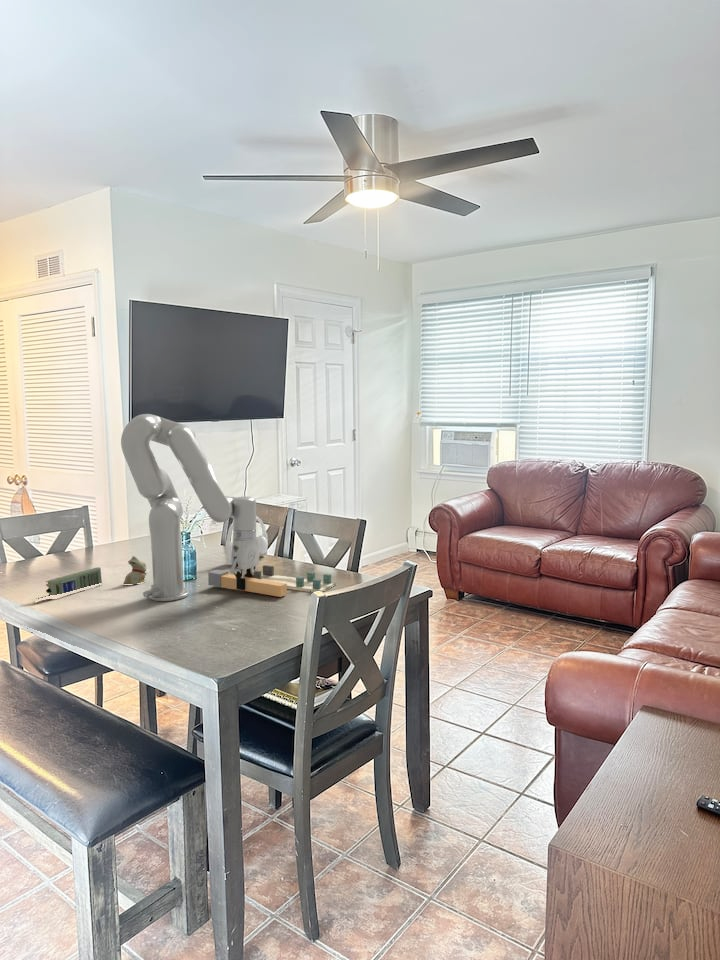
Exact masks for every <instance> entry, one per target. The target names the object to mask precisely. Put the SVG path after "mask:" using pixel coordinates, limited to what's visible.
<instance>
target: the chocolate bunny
mask: <svg viewBox="0 0 720 960" xmlns="http://www.w3.org/2000/svg"><path fill="white" fill-rule="evenodd" d="M128 565H130V566H131V569H132V570H131V571H130V572H129V573H128V574H127V573H126V576H125V578H124V581H123V584H137V583H141V582H144V581H145V582H146V580H145V578H146V575H147V573H146V571H147V564H146V563H145V562H143V561H141V560H139V558H137V557H136V556H135V555H132V557H131V558H130V560H128ZM145 582H144V583H145Z"/></svg>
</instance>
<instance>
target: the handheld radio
mask: <svg viewBox="0 0 720 960" xmlns="http://www.w3.org/2000/svg"><path fill="white" fill-rule="evenodd" d="M102 582H103V579H102V571H101V567H93V568H90V569H87V570H86V569H85V570H82V571H78V572H75V573H71V574H68V575H64V576H59V577H56V578H52V579H49V580H46V581H45V583H46V584H45V586H46V587H47V589H46V590H45V592H46V593H47V594H48V595H46V596H50V595H57V594H62V593H66V592H70V591H73V590H77V589H80V588H84V587H87V586H91V585H95V584H99V583H102ZM102 584H103V583H102ZM46 596H42V597H38V599H39V598H43V597H46Z"/></svg>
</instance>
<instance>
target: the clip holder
mask: <svg viewBox="0 0 720 960" xmlns="http://www.w3.org/2000/svg"><path fill="white" fill-rule="evenodd" d="M274 568H275V567H274V565H267V564H264V565H262V571H261V570H254V575H253V578H256V579H262V580H268V581H275V582H281V583H287V590H292V591H293V590H294V591H301V592H307V593H308V592H309V593H314V592H313V591H325V592H327V591H329V590H330V589H332V588H334V587H336V586H337V585H336V584H337V583H336V582H332V574H330V573H323V575H322V578H323V580H322V579H320V578H319V579H317V578H316V573H315V571H306V577H307V578H305V577H302V576H297V577H292V576H285V575H278V574H277V575H276V574H275V569H274ZM335 585H336V586H335ZM333 586H334V587H333ZM331 587H332V588H331ZM328 589H329V590H328ZM310 591H311V592H310Z"/></svg>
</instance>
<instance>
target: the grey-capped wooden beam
mask: <svg viewBox="0 0 720 960" xmlns="http://www.w3.org/2000/svg"><path fill="white" fill-rule="evenodd" d="M207 573H208V574H207V575H208V586H213V587H217V588H218V587H219V588H227V589H233V590H239V589H237V582H236V577H235V575H234V574H232V573H231V574H230V573H229V571H228V570H221V569H214V570H212V571H208V572H207ZM244 578H245V590H242V591H243V592H244V591H245V592H250V593H257V594H261V595H268V596H273V597H279V598H281V597H283V596H286V595H287V594H288V593H287V592H288V589H287V583H281V582H275V581H268V580H262V579H256V578H249V577H244ZM239 591H240V590H239Z"/></svg>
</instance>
